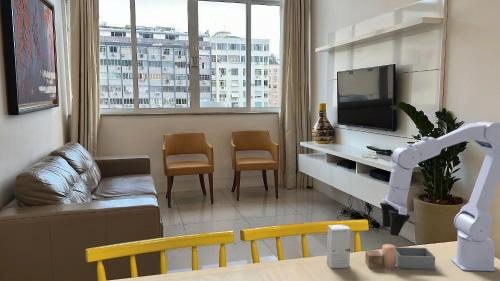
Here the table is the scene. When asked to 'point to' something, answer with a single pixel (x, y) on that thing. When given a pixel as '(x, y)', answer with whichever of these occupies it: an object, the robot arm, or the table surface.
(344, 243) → the skincare box
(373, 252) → the cube
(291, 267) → the table surface
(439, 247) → the table surface
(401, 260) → the tote
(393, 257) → the cylinder
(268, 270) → the table surface
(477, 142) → the robot arm
